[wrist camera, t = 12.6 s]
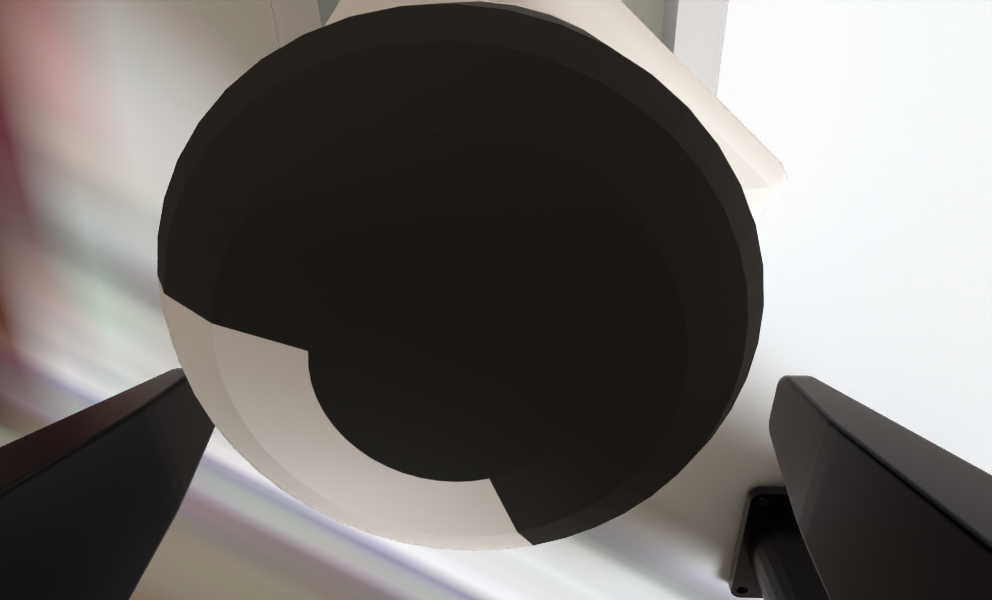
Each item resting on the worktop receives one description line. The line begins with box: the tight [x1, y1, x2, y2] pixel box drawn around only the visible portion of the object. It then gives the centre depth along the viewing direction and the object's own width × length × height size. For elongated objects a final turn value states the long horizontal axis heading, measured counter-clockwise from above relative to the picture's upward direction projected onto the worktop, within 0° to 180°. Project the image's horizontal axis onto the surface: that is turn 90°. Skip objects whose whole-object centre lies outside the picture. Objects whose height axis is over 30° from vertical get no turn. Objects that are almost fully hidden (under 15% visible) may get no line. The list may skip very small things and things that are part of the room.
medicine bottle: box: [157, 0, 788, 550], centre depth 11 cm, size 7×7×12 cm
